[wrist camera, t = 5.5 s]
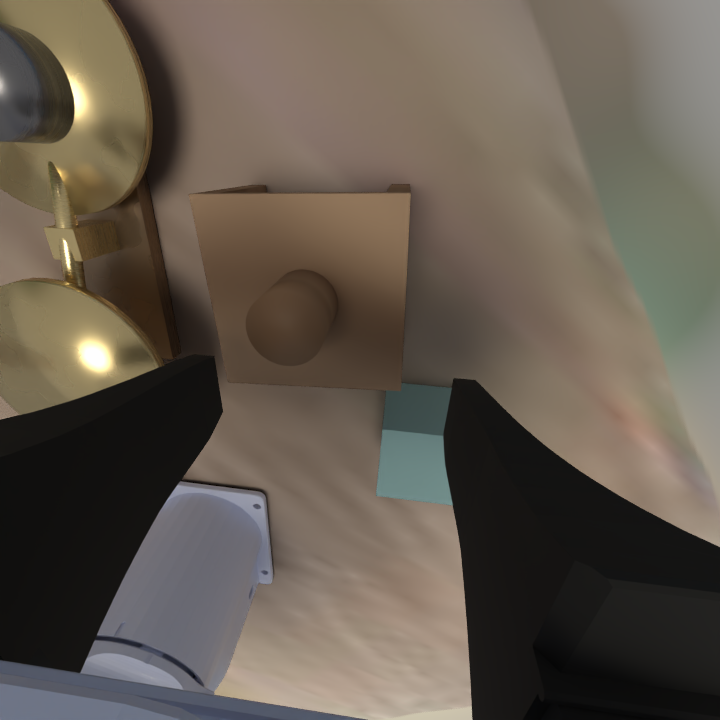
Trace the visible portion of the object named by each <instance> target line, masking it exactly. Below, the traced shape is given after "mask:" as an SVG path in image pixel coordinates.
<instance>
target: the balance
mask: <svg viewBox="0 0 720 720" xmlns="http://www.w3.org/2000/svg"><path fill="white" fill-rule="evenodd" d="M152 136H153V115H152V107H151V99H150V94H149V89H148V85H147V80H146V77H145V73H144V70H143V67H142V64H141V61H140V58H139V56H138V54H137V51H136V49H135V47H134V44H133V42H132V40H131V38H130V36H129V34H128V32H127V30H126V28H125V26H124V25H123V23H122V21H121V19H120V18H119V16H118V14H117V13H116V11H115V10H114V8H113V7H112V5H111V4H110V2H109V1H108V0H0V188H1V189H2V190H4V191H5V192H7V193H8V194H10V195H11V196H13V197H14V198H16V199H18V200H20V201H22V202H24V203H25V204H27V205H30V206H32V207H35V208H37V209H40V210H43V211H46V212H50V213H53V214H54V218H55V225H53V226H48V227H43V228H44V231H45V234H46V237H47V240H48V243H49V245H50V248H51V251H52V254H53V257H54V259H59V260H61V266H62V272H63V279H64V281H61V280H55V279H49V278H30V279H23V280H19V281H16V282H13V283H9V284H6V285H3V286H0V396H1V397H2V398H3V399H4V400H5V401H6V402H7V403H8V404H9V405H10V406H11V407H12V408H13V409H14V410H15V411H16V412H17V413H19V414H20V415H22V414H26V413H30V412H34V411H38V410H41V409H45V408H48V407H52V406H55V405H58V404H62V403H65V402H68V401H71V400H74V399H77V398H80V397H83V396H86V395H89V394H92V393H95V392H97V391H100V390H103V389H105V388H108V387H111V386H113V385H116V384H119V383H121V382H124V381H127V380H129V379H132V378H134V377H137V376H139V375H141V374H144V373H146V372H149V371H151V370H154V369H156V368H159V367H161V366H164V362H163V360H162V358H163V359H174V358H175V357H177V356H178V355H179V354H180V353H181V348H180V343H179V338H178V333H177V328H176V323H175V318H174V313H173V308H172V303H171V298H170V293H169V288H168V283H167V277H166V272H165V267H164V262H163V257H162V252H161V247H160V242H159V237H158V232H157V227H156V222H155V217H154V212H153V207H152V202H151V197H150V192H149V187H148V182H147V176H146V171H145V169H146V166H147V164H148V161H149V156H150V152H151V146H152Z"/></svg>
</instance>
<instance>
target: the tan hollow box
mask: <svg viewBox="0 0 720 720" xmlns="http://www.w3.org/2000/svg"><path fill="white" fill-rule="evenodd" d="M189 198H190V202H191V207H192V212H193V217H194V222H195V226H196V231H197V236H198V241H199V246H200V250H201V255H202V260H203V265H204V270H205V274H206V279H207V284H208V289H209V294H210V298H211V303H212V308H213V313H214V318H215V322H216V327H217V332H218V337H219V342H220V346H221V351H222V356H223V361H224V365H225V370H226V375H227V380H228V382H230V383H250V384H269V385H289V386H309V387H329V388H348V389H368V390H388V391H401V383H402V362H403V342H404V321H405V301H406V280H407V259H408V239H409V218H410V198H411V192H410V184H392V185H391V186H390V188H389V189H388V191H387V192H321V193H267V191H266V185H249V186H242V187H235V188H228V189H221V190H214V191H208V192H201V193H194V194H189Z"/></svg>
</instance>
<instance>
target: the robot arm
mask: <svg viewBox="0 0 720 720" xmlns="http://www.w3.org/2000/svg"><path fill="white" fill-rule="evenodd" d="M222 412H223V409H222V403H221V396H220V390H219V384H218V377H217V371H216V365H215V358H214V356H205V355H192V356H188V357H185V358H182V359H179V360H176V361H174V362H171V363H169V364H166V365H164V366H161V367H159V368H156V369H154V370H151V371H149V372H146V373H144V374H141V375H139V376H137V377H134V378H132V379H129V380H127V381H124V382H121V383H119V384H116V385H113V386H111V387H108V388H105V389H103V390H100V391H97V392H95V393H92V394H89V395H86V396H83V397H80V398H77V399H74V400H71V401H68V402H65V403H62V404H58V405H55V406H52V407H48V408H45V409H41V410H38V411H34V412H30V413H26V414H22V415H18V416H14V417H10V418H6V419H2V420H0V720H366V719H360V718H354V717H348V716H341V715H335V714H329V713H323V712H317V711H311V710H304V709H298V708H292V707H286V706H280V705H274V704H267V703H261V702H255V701H249V700H243V699H237V698H230V697H224V696H218V695H214V691H215V690H216V689H217V687H218V686H219V684H220V683H221V681H222V680H223V678H224V676H225V674H226V672H227V670H228V667H229V665H230V662H231V659H232V656H233V654H234V651H235V648H236V645H237V642H238V639H239V637H240V634H241V631H242V628H243V625H244V622H245V620H246V617H247V614H248V611H249V608H250V605H251V603H252V600H253V597H254V594H255V591H256V588H257V586H258V583H261V584H270V583H272V580H273V567H272V556H271V546H270V536H269V525H268V515H267V504H266V497H265V495H264V494H263V493H261V492H259V491H251V490H243V489H236V488H228V487H220V486H212V485H205V484H197V483H189V482H181V479H182V478H183V476H184V475H185V474H186V472H187V471H188V469H189V468H190V466H191V465H192V464H193V462H194V461H195V459H196V458H197V456H198V455H199V454H200V452H201V451H202V449H203V448H204V446H205V445H206V443H207V442H208V440H209V439H210V437H211V435H212V433H213V431H214V429H215V427H216V425H217V423H218V421H219V419H220V417H221V415H222ZM443 441H444V458H445V467H446V473H447V478H448V483H449V489H450V494H451V499H452V504H453V509H454V514H455V519H456V525H457V530H458V535H459V542H460V548H461V558H462V569H463V580H464V591H465V604H466V617H467V630H468V646H469V662H470V678H471V698H472V717H473V720H720V547H718V546H716V545H714V544H712V543H710V542H707V541H705V540H703V539H701V538H699V537H697V536H694V535H692V534H690V533H688V532H686V531H684V530H682V529H680V528H678V527H676V526H674V525H672V524H670V523H668V522H666V521H664V520H662V519H661V518H659V517H657V516H655V515H653V514H651V513H649V512H647V511H645V510H643V509H642V508H640V507H638V506H636V505H635V504H633V503H631V502H629V501H627V500H626V499H624V498H622V497H620V496H619V495H617V494H615V493H614V492H612V491H611V490H609V489H607V488H606V487H604V486H602V485H601V484H599V483H598V482H596V481H594V480H593V479H591V478H590V477H588V476H587V475H585V474H584V473H582V472H581V471H579V470H578V469H576V468H575V467H573V466H572V465H571V464H569V463H568V462H566V461H565V460H564V459H562V458H561V457H560V456H558V455H557V454H555V453H554V452H553V451H551V450H550V449H549V448H548V447H546V446H545V445H544V444H543V443H541V442H540V441H539V440H538V439H537V438H535V437H534V436H533V435H532V434H531V433H530V432H528V431H527V430H526V429H525V428H524V427H523V426H522V425H520V424H519V423H518V422H517V421H516V420H515V419H514V418H513V417H512V416H511V415H510V414H509V413H508V412H507V411H506V410H505V409H504V408H503V407H502V406H501V405H500V404H499V403H498V402H497V401H496V400H495V399H494V398H493V397H492V396H491V395H490V394H489V393H488V392H487V391H486V390H485V389H484V388H483V387H482V386H481V385H480V384H479V383H478V382H477V381H476V380H467V379H457V378H454V380H453V385H452V390H451V395H450V401H449V406H448V411H447V417H446V422H445V427H444V432H443Z"/></svg>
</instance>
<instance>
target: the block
mask: <svg viewBox="0 0 720 720" xmlns="http://www.w3.org/2000/svg"><path fill="white" fill-rule="evenodd" d="M451 390H452V388H447V387H437V386H426V385H416V384H406V383H401V391H388V390H386V398H385V408H384V418H383V429H382V439H381V449H380V460H379V470H378V481H377V491H376V496H382V497H390V498H398V499H406V500H414V501H422V502H430V503H438V504H446V505H453V504H452V499H451V494H450V489H449V483H448V478H447V473H446V467H445V458H444V441H443V432H444V427H445V422H446V417H447V411H448V406H449V401H450V395H451Z"/></svg>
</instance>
